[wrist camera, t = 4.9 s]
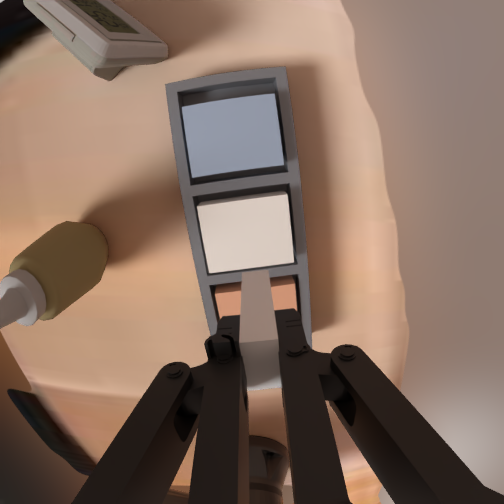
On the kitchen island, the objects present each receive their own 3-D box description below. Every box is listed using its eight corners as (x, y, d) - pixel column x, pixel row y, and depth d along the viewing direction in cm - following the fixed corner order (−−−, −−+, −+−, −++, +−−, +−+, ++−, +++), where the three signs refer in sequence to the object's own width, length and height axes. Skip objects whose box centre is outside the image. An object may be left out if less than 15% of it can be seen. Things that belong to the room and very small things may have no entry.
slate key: (280, 163, 28) (284, 165, 26) (196, 175, 28) (192, 177, 26) (272, 97, 26) (274, 93, 24) (186, 110, 26) (181, 107, 24)
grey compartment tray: (307, 334, 37) (312, 351, 34) (219, 345, 37) (217, 362, 34) (281, 75, 27) (285, 66, 24) (173, 90, 27) (165, 84, 24)
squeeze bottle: (56, 216, 31) (-50, 273, 14) (111, 210, 31) (6, 272, 14) (69, 278, 34) (-16, 360, 17) (123, 277, 34) (46, 375, 17)
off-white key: (290, 253, 31) (294, 262, 29) (211, 263, 31) (209, 273, 29) (284, 190, 29) (287, 194, 26) (200, 201, 29) (196, 206, 27)
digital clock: (178, 60, 26) (149, 24, 16) (110, 110, 28) (57, 100, 18) (116, -23, 22) (79, -63, 12) (58, 23, 23) (8, -1, 13)
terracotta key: (295, 324, 35) (298, 336, 32) (226, 332, 35) (225, 345, 33) (291, 274, 32) (294, 283, 30) (216, 283, 33) (214, 293, 30)
